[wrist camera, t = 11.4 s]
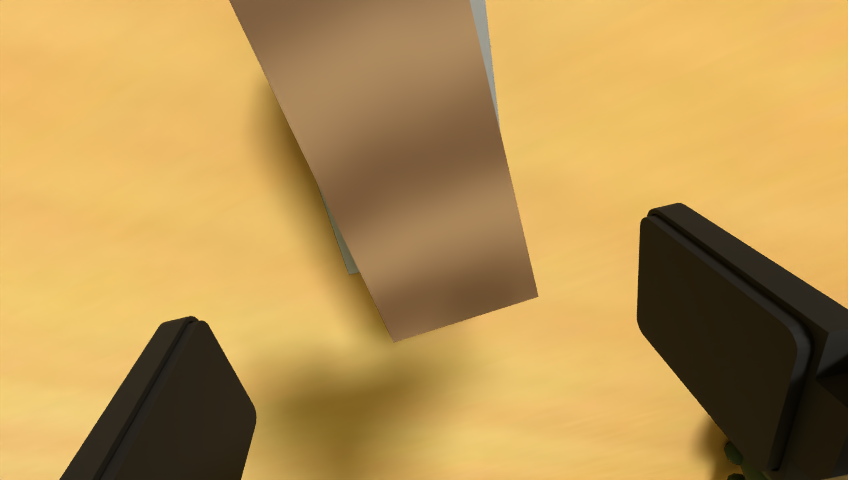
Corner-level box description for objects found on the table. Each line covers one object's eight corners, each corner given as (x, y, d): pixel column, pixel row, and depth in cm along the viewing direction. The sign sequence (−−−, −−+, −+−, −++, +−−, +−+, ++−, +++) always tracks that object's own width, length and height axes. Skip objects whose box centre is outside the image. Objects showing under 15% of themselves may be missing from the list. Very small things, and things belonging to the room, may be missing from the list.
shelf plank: (241, -40, 16) (207, -47, 13) (423, -109, 16) (438, -136, 12) (390, 291, 24) (393, 342, 21) (513, 251, 24) (538, 296, 20)
